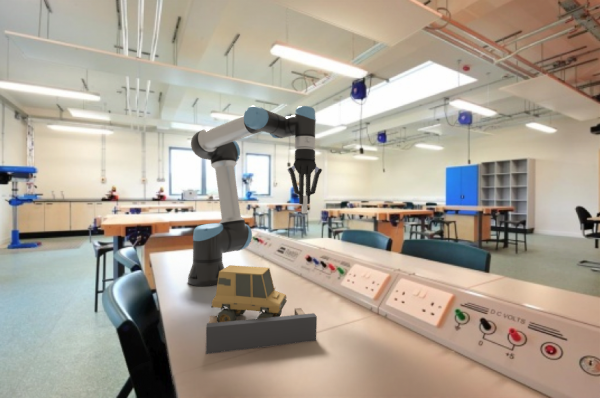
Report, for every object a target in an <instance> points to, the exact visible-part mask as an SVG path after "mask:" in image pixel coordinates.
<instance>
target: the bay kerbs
mask: <svg viewBox="0 0 600 398" xmlns="http://www.w3.org/2000/svg"><path fill="white" fill-rule="evenodd" d="M301 314H306V313H305V312H304V310H303V309H302V307H296V308H295V307H294V314H293V315H301ZM217 317H218V314H217V315H209V317H208V318H209V319H208V323H217Z"/></svg>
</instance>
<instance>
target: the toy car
mask: <svg viewBox="0 0 600 398" xmlns="http://www.w3.org/2000/svg"><path fill="white" fill-rule="evenodd" d="M274 285H275V284H274V282H273V278H272V273H271V269H270V267H263V266H262V267H261V266H249V265H248V266H247V265H235V264H234V265H233V264H232V265H231V264H230V265H227V266H226V267H224V269H222V270H221V271H219V276H218V284H217V285H216V290H215V291H216V294H215V296H214V297H213V299H212V300H211V305H210V307H211V308H212V309H213V308H216V309H220V310H221V311H219V312H218V314H217V322H227V321H237V317H240V316H242V315H243V314H245V312H246V311H249V312H251V311H252V312H258V313H259V315H258V316H257V318H256V319H259V318H270V317H280V316H281V315H282V311H283V309H284V307H285V305H286V303H287V294H285V293H282V292H280V291H277V290H276V287H275V286H274ZM225 307H227V308H225Z"/></svg>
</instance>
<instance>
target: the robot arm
mask: <svg viewBox="0 0 600 398" xmlns="http://www.w3.org/2000/svg"><path fill="white" fill-rule="evenodd" d="M316 122H317V118H316V110H315V108H313V107H312V106H308V105H300V106H298V107H296V108H295V112H294V114H293V115H289V116H283V115H281V114H278V113H276V112H273V111H270V110H267V109H265V108H263V107H260V106H255V105H250V106H249V107H247V109H246V110H245V111H244V114H243V115H242V116H240V117H237V118H234V119H233V120H229V121H226V122H225V123H222V124H220V125H218V126H215V127H213V128H210V129H207V128H205V129H202V130H201V129H200V130H199V131H197V132H196V133H194V134H193V136H192V138H191V140H190V147H191V150H192V151H193V153H194V154H195V155H196V156H197V157H199V158H200V159H203V160H209V161H210V164H211V165H210V166H211V167H212V168H213V169H214V170H215V177H216V183H217V184H216V185H217V192H218V201H219V209H220V215H221V216H220V217H221V220H220V221H219V222H218V223H217V222H216V223H215V222H213V223H205V224H201V225H198V226H196V227H195V228H194V229H193V236H192V246H193V247H192V265H191V268H190V271H189V273H188V277H187V278H188V279H187V283H188V285H191V286H195V287H197V286H198V287H210V286H211V287H212V286H217V284H218V276H219V271H221V270H222V269H224V268H225V266H224V263H223V254H225V253H226V254H227V253H231V252H232V253H233V252H239V251H241V250H244V249H246V248H248V247H249V245H250V243H251V242H252V238H253V232H252V231H253V230H252V228H251V227H250V226H249V224H246V221H245V218H243V217H242V216H241V209H240V208H241V207H240V203H239V194H238V188H237V187H238V186H237V181H236V173H235V166H236V165H237V164H238V163H237V162H238V161H239V159H240V156H241V147H240V145H239V144H238V142H237V141H239V140H241V139H243V138H247V137H249V136H252V135H255V134H258V133H262V132H264V133H268V134H269V135H270V136H271V137H272V138H274V139H284V138H290V137H294V149H295V150H294V162H293V165H292V166H291V167H288V168H287V172H288V174H290V175H289V176H290V179H291V183H292V188H293V193H294V194H296V195H298V196H299V197H298V203H299V205H301V214H308V205H310V203H311V195H314V194H316V190H317V185H318V183H319V178H320V175H321V173H322V171H323V169H322V168H320V167H318V166H317V163H316V150H315V149H316ZM295 171H296V172H297V173H298V181H297V178H296V174H295ZM313 172H314V175H313V180H312V183H311V178H312V177H311V176H312V174H313ZM304 183H305V184H304ZM304 186H305V187H304ZM304 190H305V191H304ZM304 193H305V195H304Z"/></svg>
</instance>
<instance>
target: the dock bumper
mask: <svg viewBox="0 0 600 398" xmlns="http://www.w3.org/2000/svg"><path fill="white" fill-rule="evenodd" d="M317 319H318V318H317V315H316V314H315V313H314V312H312V313H305V314H301V315H294V314H293V315H282V316H281V315H280V317H270V318H259V319H257V318H250V319H240V320H236V321H227V322H217V323H209V322H208V323H206V333H205V335H206V337H205V339H206V340H205V355H207V354H208V355H209V354H218V353H225V352H235V351H243V350H249V349H259V348H268V347H275V346H282V345H292V344H299V343H308V342H314V341H315V342H316V341H317V328H318V327H317V324H318V321H317Z"/></svg>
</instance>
